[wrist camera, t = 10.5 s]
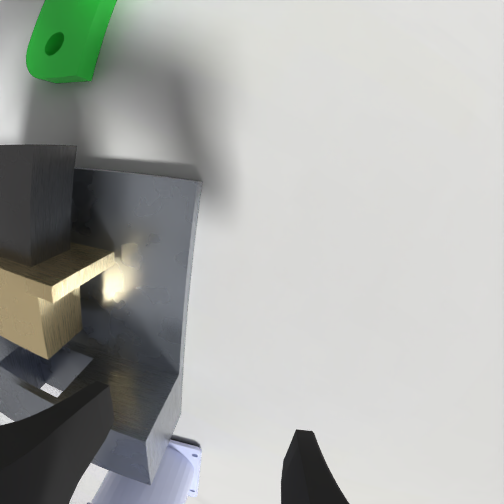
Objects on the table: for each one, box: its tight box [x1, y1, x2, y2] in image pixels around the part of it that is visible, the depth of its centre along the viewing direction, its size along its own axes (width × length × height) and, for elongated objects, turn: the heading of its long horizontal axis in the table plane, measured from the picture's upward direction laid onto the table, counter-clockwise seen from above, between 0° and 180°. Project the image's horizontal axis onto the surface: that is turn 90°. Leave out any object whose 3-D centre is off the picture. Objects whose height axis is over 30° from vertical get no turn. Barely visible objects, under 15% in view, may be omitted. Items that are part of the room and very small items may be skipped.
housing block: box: [0, 167, 202, 485], centre depth 17 cm, size 18×18×8 cm
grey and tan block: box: [0, 145, 114, 359], centre depth 15 cm, size 11×9×6 cm
